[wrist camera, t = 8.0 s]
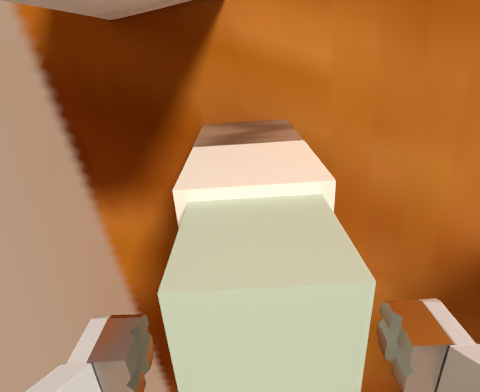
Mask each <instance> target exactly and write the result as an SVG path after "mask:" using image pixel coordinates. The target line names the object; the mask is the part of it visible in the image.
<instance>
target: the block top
mask: <svg viewBox="0 0 480 392" xmlns="http://www.w3.org/2000/svg"><path fill="white" fill-rule="evenodd" d="M335 184H336V180H335V179H334V178H333V176H332V175H331V174H330V173H329V171H328V170H327V169H326V167H325V166H324V165H323V164H322V162H321V161H320V160H319V159H318V157H317V156H316V155H315V154H314V152H313V151H312V150H311V149H310V147H309V146H308V145H307V143H306V142H305V141H304V140H300V141H285V142H269V143H254V144H238V145H223V146H207V147H193V149H192V151H191V153H190V155H189V157H188V159H187V161H186V163H185V165H184V167H183V170H182V172H181V174H180V176H179V178H178V180H177V182H176V184H175V186H174V188H173V190H172V191H173V197H174V203H175V209H176V215H177V221H178V228H180V225H181V222H182V219H183V216H184V213H185V210H186V207H187V204H188V202H192V201H209V200H225V199H242V198H259V197H275V196H292V195H309V194H322V195H323V196H324V198H325V200H326V201H327V203H328V204H329V206H330V208H331V209H332V211H333V213H334V200H335Z"/></svg>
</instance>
